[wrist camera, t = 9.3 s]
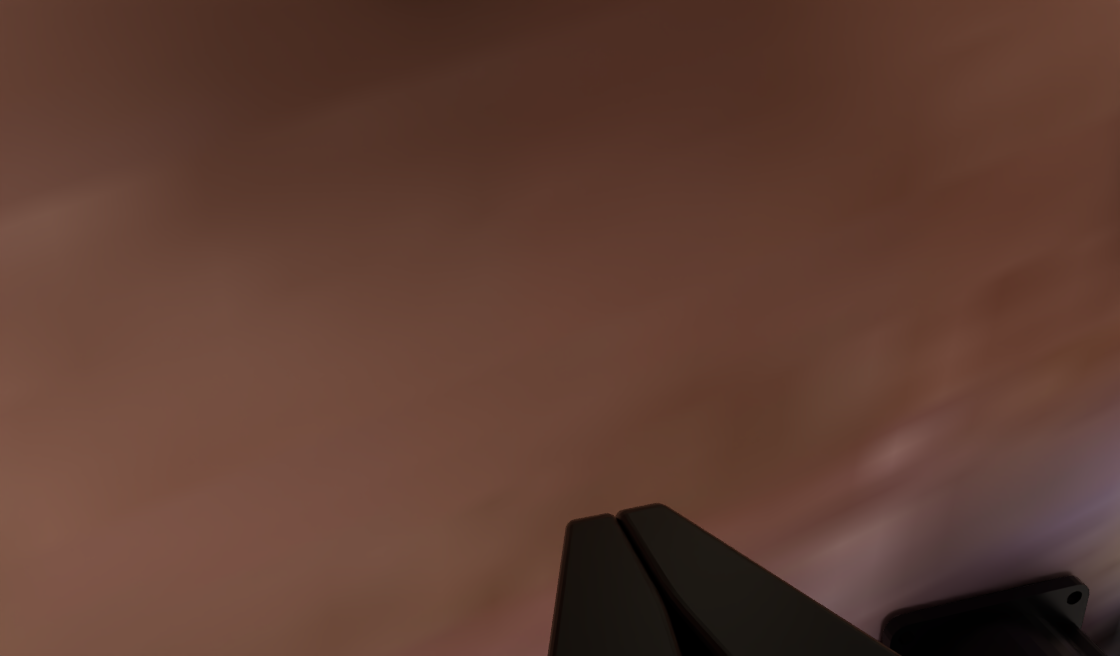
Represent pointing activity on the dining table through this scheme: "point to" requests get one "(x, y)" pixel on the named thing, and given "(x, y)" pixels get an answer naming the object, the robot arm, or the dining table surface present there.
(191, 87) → the dining table surface
